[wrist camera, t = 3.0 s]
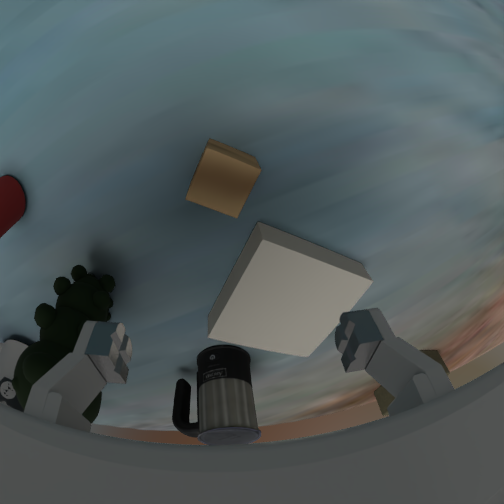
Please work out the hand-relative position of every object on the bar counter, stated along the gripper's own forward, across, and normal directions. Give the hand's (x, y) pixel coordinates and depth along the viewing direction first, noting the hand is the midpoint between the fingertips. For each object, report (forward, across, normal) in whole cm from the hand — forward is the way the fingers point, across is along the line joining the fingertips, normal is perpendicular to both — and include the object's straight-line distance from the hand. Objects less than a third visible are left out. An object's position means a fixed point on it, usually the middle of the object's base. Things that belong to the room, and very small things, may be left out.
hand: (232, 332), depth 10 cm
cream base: (+21, -7, +17) cm, 28 cm away
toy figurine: (+21, +19, +16) cm, 33 cm away
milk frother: (+21, +2, +36) cm, 42 cm away
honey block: (+21, 0, 0) cm, 21 cm away
